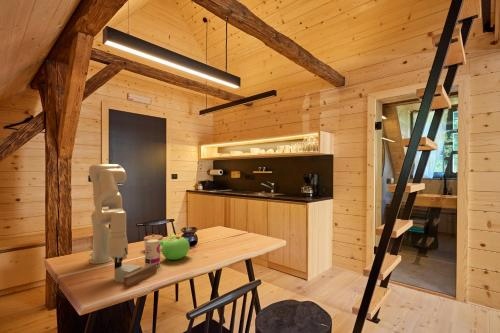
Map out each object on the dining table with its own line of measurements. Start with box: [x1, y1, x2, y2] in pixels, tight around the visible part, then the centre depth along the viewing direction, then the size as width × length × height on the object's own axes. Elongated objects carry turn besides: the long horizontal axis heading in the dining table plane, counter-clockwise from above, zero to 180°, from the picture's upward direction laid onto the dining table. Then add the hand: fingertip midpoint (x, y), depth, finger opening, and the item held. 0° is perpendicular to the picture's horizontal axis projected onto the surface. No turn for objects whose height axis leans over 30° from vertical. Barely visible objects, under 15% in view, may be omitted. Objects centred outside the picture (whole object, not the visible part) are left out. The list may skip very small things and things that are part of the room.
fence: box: [123, 263, 157, 289], centre depth 138 cm, size 2×20×5 cm, turn 159°
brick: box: [114, 263, 142, 283], centre depth 139 cm, size 10×8×6 cm
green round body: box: [160, 233, 191, 261], centre depth 170 cm, size 18×17×15 cm
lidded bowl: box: [143, 233, 164, 248], centre depth 188 cm, size 13×13×11 cm
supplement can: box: [144, 239, 161, 268], centre depth 157 cm, size 8×8×15 cm
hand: (118, 269), depth 141 cm, fingers closed
